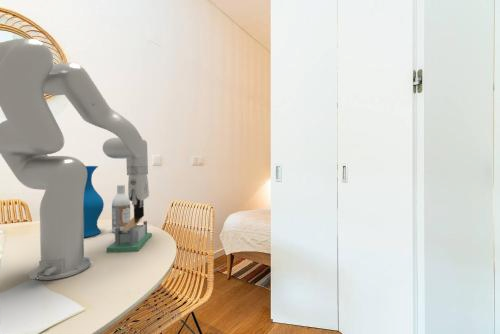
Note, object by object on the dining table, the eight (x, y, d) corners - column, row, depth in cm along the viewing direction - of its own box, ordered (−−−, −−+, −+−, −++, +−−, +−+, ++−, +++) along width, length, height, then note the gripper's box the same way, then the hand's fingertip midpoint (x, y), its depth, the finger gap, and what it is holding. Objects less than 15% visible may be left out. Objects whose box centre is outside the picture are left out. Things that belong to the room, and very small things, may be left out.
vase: (110, 231, 103) (110, 166, 102) (84, 240, 91) (83, 166, 90) (88, 229, 106) (87, 165, 105) (59, 238, 94) (58, 166, 93)
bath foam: (119, 234, 99) (119, 185, 99) (108, 232, 102) (107, 185, 102) (133, 229, 106) (133, 184, 105) (122, 227, 108) (122, 183, 108)
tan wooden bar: (129, 234, 82) (129, 231, 82) (118, 234, 81) (118, 231, 81) (142, 219, 96) (142, 216, 96) (133, 219, 95) (133, 216, 95)
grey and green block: (138, 251, 81) (138, 229, 81) (106, 252, 80) (106, 230, 80) (151, 236, 97) (151, 217, 97) (125, 237, 96) (125, 218, 95)
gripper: (141, 172, 87) (143, 222, 88) (152, 169, 102) (154, 212, 103) (119, 172, 86) (121, 223, 87) (134, 169, 101) (135, 212, 102)
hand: (139, 216), depth 95 cm, fingers closed
